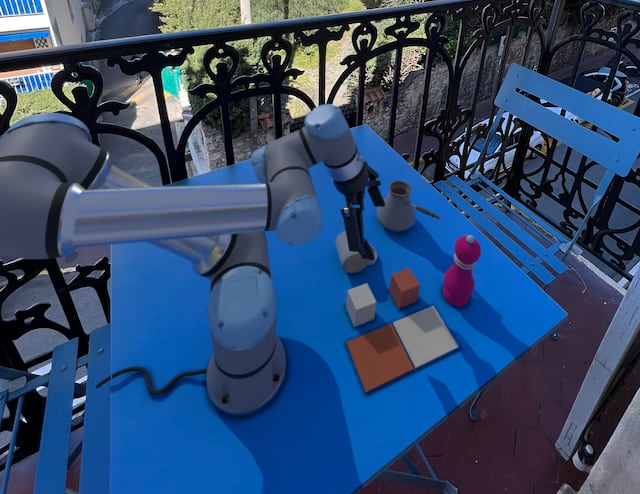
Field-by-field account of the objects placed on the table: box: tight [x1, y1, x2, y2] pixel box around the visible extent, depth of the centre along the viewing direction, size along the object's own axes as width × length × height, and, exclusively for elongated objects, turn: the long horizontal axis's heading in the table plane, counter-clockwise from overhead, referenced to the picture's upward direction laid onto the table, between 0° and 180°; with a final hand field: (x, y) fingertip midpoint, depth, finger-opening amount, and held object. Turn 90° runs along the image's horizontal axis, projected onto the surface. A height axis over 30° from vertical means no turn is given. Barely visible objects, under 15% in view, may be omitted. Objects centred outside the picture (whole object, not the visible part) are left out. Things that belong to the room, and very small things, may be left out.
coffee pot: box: [376, 179, 443, 233], centre depth 112 cm, size 21×12×15 cm, turn 35°
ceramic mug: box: [334, 230, 378, 274], centre depth 104 cm, size 11×8×8 cm
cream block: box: [345, 282, 377, 328], centre depth 92 cm, size 5×5×6 cm
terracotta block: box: [388, 267, 421, 310], centre depth 97 cm, size 5×5×6 cm
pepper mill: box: [442, 234, 482, 308], centre depth 95 cm, size 7×7×20 cm
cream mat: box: [392, 305, 460, 369], centre depth 90 cm, size 11×10×1 cm
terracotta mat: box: [346, 323, 415, 394], centre depth 85 cm, size 11×10×1 cm
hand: (374, 229), depth 95 cm, fingers open, 13 cm apart
